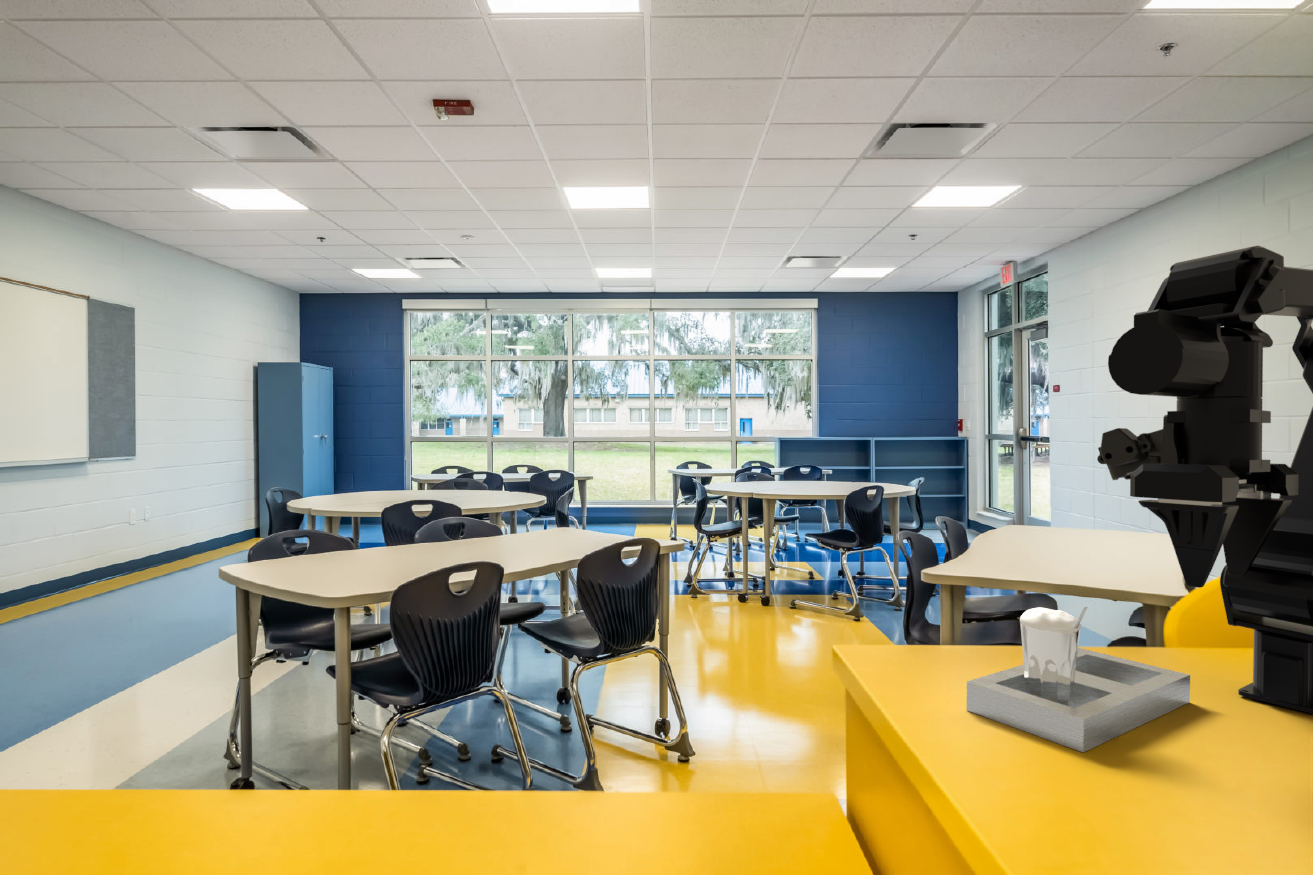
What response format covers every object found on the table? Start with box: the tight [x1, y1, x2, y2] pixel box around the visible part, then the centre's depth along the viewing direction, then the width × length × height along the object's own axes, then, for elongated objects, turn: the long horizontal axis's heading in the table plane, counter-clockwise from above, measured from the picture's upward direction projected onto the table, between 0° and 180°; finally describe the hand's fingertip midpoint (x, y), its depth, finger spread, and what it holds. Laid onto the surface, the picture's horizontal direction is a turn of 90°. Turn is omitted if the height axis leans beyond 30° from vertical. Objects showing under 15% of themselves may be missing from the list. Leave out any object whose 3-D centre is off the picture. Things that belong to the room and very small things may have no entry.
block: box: [965, 647, 1191, 753], centre depth 61 cm, size 20×10×2 cm, turn 124°
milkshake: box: [1019, 606, 1088, 707], centre depth 59 cm, size 4×5×10 cm
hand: (1216, 580), depth 59 cm, fingers open, 9 cm apart
